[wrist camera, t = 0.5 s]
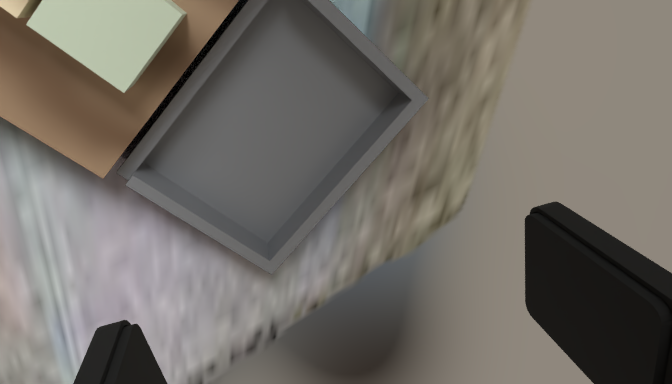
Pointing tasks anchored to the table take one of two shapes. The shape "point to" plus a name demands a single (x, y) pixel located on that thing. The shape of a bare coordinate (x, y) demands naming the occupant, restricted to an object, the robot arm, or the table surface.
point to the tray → (272, 128)
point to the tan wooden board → (92, 87)
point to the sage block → (109, 33)
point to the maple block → (20, 7)
